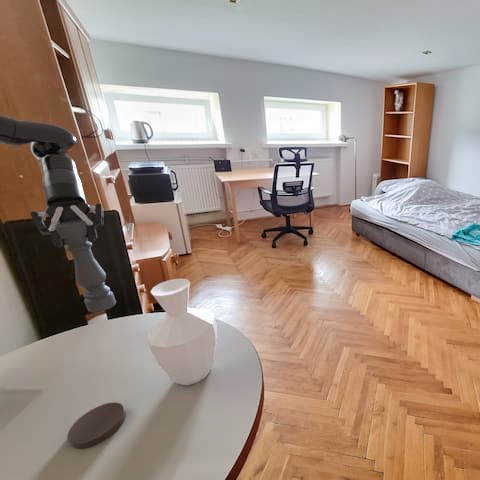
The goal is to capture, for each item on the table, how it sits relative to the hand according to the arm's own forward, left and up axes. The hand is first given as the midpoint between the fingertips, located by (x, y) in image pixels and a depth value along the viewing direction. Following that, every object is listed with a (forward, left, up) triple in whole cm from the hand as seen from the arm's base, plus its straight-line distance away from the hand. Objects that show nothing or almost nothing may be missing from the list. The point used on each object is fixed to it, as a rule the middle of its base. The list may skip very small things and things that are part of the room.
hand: (76, 242), depth 73 cm
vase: (+29, -16, -31) cm, 45 cm away
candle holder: (-1, +1, -20) cm, 21 cm away
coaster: (+15, -29, -31) cm, 45 cm away
